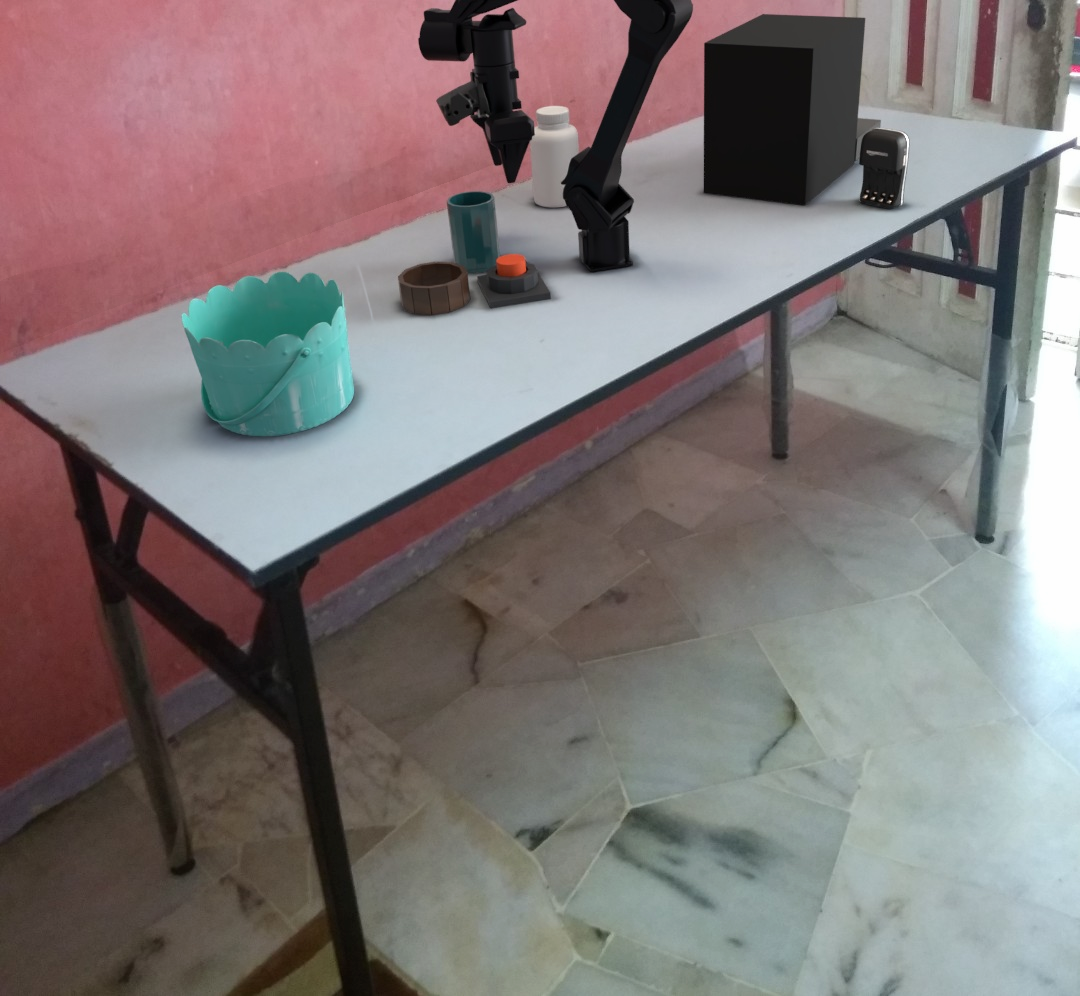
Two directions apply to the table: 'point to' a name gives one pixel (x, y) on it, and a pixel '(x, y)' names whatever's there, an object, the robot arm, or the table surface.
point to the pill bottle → (552, 154)
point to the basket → (272, 354)
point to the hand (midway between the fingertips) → (504, 173)
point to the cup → (473, 230)
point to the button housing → (513, 287)
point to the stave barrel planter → (434, 288)
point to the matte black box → (783, 106)
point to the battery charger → (884, 167)
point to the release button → (511, 265)
